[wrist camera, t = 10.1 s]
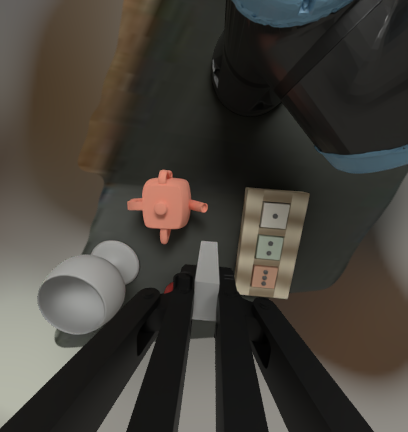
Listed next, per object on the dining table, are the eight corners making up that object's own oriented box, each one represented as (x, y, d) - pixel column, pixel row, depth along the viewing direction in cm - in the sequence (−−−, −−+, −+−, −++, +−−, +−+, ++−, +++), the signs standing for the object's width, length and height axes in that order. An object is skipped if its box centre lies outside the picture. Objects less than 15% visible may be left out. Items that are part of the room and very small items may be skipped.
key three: (251, 259, 44) (254, 266, 41) (273, 261, 44) (278, 269, 41) (249, 278, 45) (251, 287, 42) (270, 280, 45) (274, 289, 42)
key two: (256, 231, 42) (259, 236, 39) (278, 233, 42) (284, 238, 39) (253, 252, 43) (256, 258, 40) (275, 253, 43) (279, 260, 40)
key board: (245, 187, 40) (248, 188, 37) (302, 191, 40) (309, 193, 37) (233, 286, 46) (234, 294, 43) (282, 290, 46) (287, 298, 43)
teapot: (210, 202, 41) (210, 212, 32) (170, 234, 44) (159, 252, 34) (175, 160, 40) (163, 157, 30) (135, 196, 42) (113, 204, 32)
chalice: (141, 292, 48) (110, 346, 33) (87, 283, 48) (33, 333, 34) (146, 241, 44) (113, 276, 30) (87, 231, 44) (26, 262, 30)
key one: (260, 200, 40) (264, 203, 37) (284, 202, 40) (290, 205, 37) (257, 222, 42) (261, 227, 39) (280, 224, 42) (285, 229, 38)
